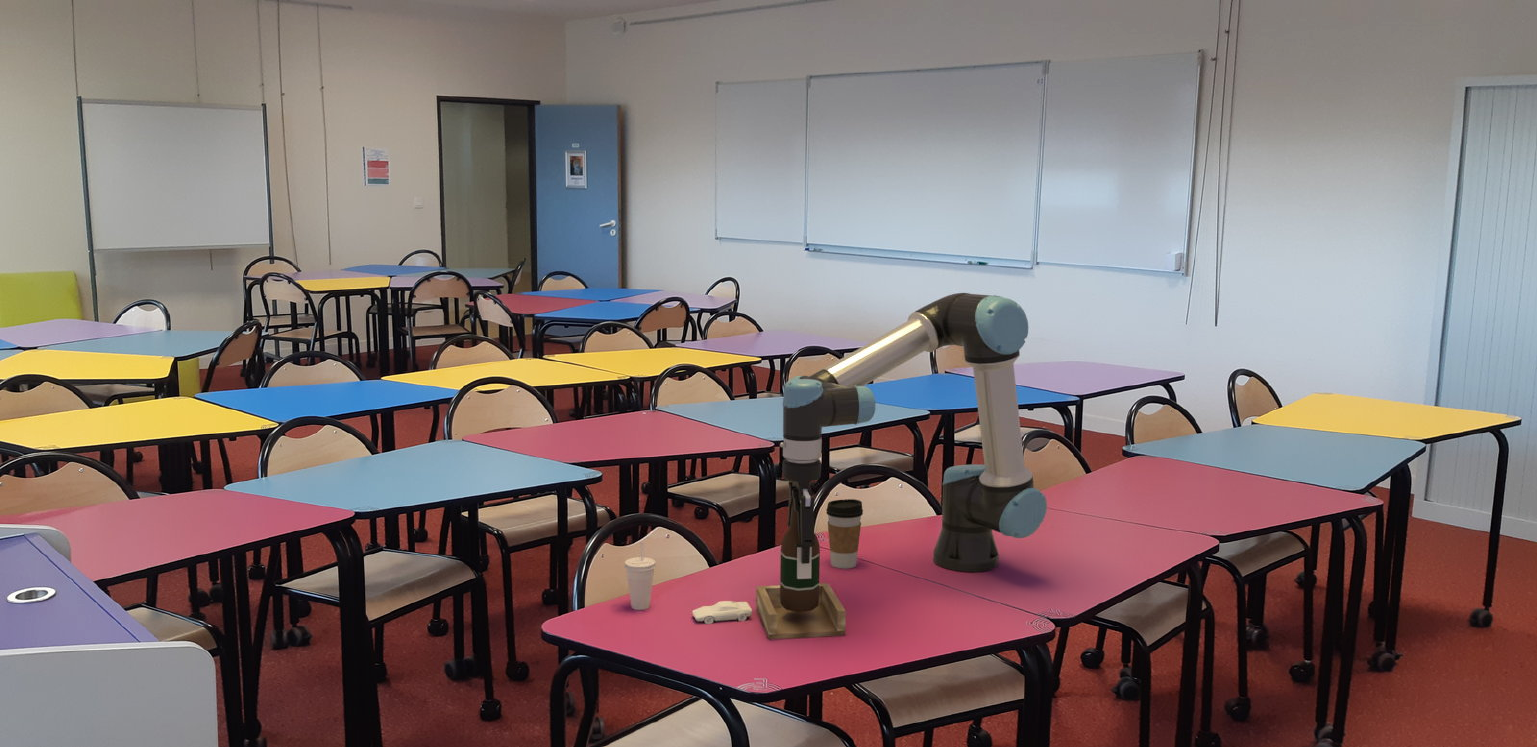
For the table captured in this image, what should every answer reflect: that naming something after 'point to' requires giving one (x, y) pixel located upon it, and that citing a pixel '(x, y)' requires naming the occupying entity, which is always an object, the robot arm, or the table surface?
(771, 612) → the u rest
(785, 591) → the beer bottle
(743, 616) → the toy car
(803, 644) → the table surface
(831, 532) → the coffee cup
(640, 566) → the smoothie
